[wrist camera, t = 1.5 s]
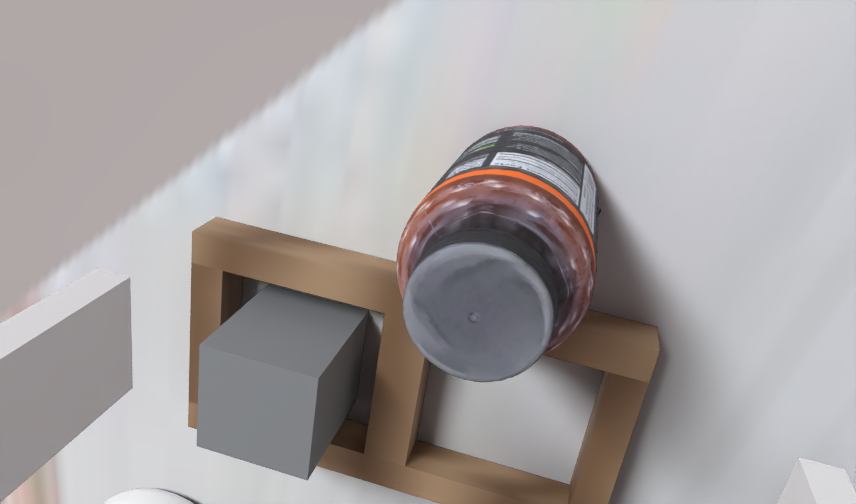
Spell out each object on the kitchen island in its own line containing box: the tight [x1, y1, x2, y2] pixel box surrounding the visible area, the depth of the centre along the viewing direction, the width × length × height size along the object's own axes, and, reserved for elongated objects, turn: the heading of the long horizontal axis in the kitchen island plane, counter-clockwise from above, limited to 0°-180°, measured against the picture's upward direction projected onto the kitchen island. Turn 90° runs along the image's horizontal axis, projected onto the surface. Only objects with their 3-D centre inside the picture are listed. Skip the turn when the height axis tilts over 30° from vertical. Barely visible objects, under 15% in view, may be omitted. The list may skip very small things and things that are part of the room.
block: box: [197, 284, 369, 480], centre depth 30 cm, size 5×5×6 cm
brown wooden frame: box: [188, 217, 660, 504], centre depth 31 cm, size 20×10×2 cm, turn 81°
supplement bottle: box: [396, 125, 601, 382], centre depth 23 cm, size 6×6×11 cm
